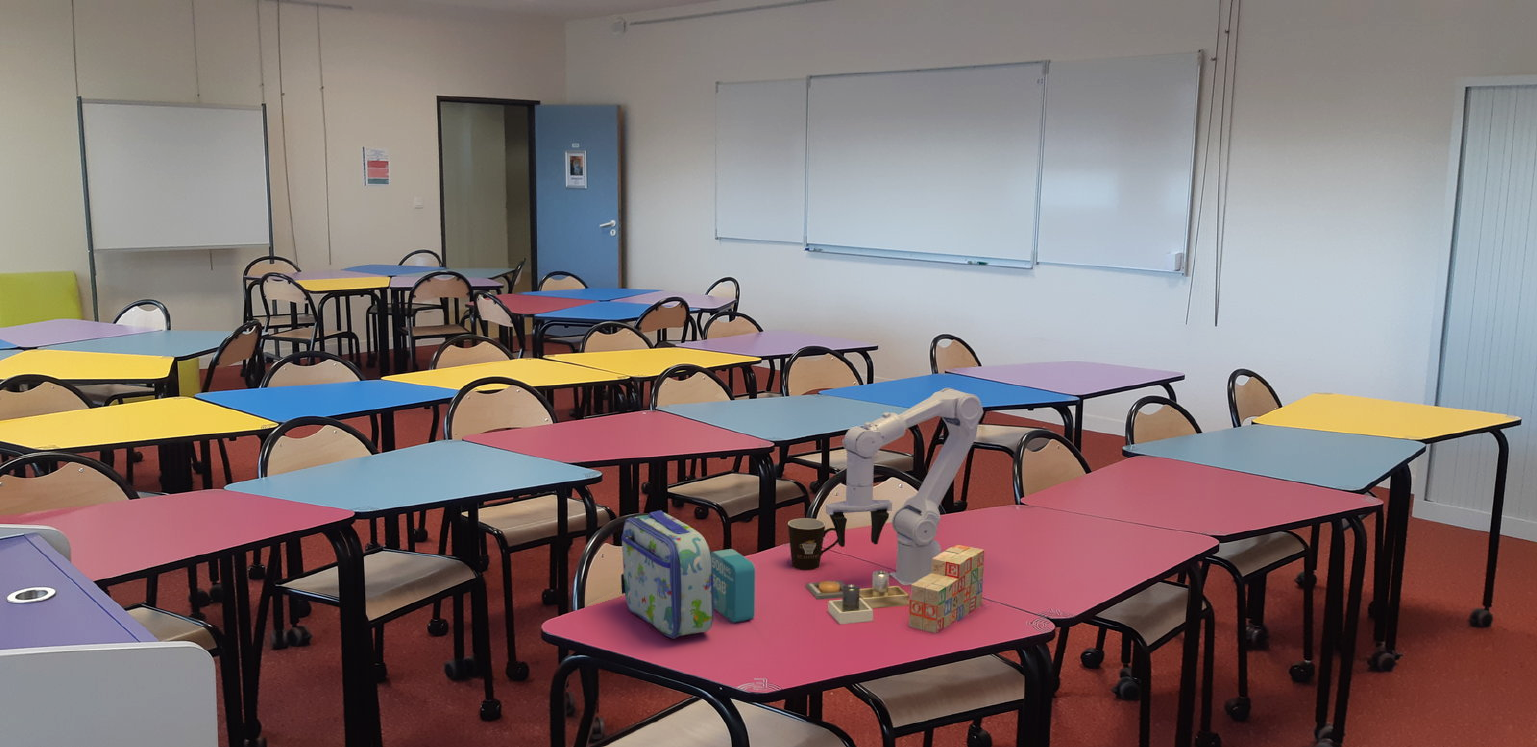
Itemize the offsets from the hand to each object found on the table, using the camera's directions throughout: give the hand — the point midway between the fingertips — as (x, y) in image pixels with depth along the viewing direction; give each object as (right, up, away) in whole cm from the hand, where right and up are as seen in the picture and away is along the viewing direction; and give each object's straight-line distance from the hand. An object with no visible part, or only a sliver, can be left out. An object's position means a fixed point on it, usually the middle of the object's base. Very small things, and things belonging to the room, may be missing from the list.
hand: (857, 544), depth 237 cm
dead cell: (-3, -12, -16) cm, 20 cm away
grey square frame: (-6, -10, -2) cm, 12 cm away
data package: (-27, -12, -14) cm, 33 cm away
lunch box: (-40, -13, -19) cm, 46 cm away
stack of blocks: (+17, -13, -14) cm, 25 cm away
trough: (+4, -11, -8) cm, 14 cm away
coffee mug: (-9, -8, +15) cm, 20 cm away
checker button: (-6, -10, -2) cm, 12 cm away
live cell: (+4, -11, -8) cm, 14 cm away
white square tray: (-3, -13, -16) cm, 21 cm away
